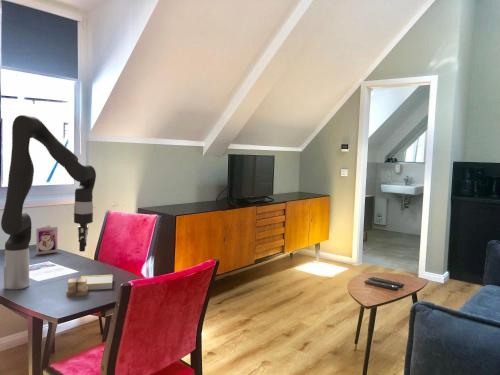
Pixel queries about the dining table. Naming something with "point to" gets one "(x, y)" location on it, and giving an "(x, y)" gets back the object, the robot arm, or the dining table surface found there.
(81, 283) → the pallet
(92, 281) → the dock
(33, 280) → the dining table surface
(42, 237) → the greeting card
